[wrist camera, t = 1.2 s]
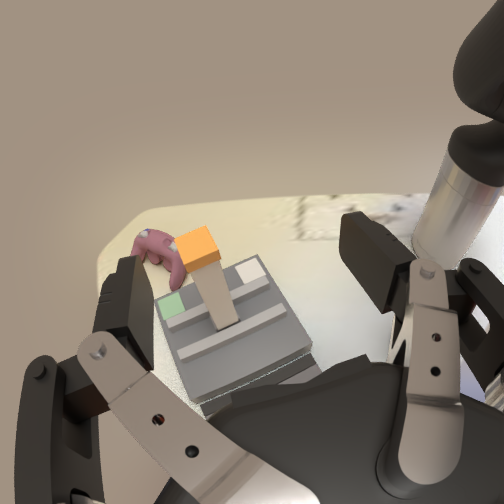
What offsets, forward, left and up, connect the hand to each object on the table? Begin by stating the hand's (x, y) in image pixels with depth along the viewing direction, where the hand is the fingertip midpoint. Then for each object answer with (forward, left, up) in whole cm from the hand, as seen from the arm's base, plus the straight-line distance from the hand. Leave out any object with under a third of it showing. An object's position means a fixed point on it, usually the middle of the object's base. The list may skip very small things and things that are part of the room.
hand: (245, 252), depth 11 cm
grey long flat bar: (+1, 0, -26) cm, 26 cm away
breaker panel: (+1, -9, -26) cm, 27 cm away
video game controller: (+6, -23, -26) cm, 35 cm away
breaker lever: (+1, -9, -23) cm, 24 cm away
